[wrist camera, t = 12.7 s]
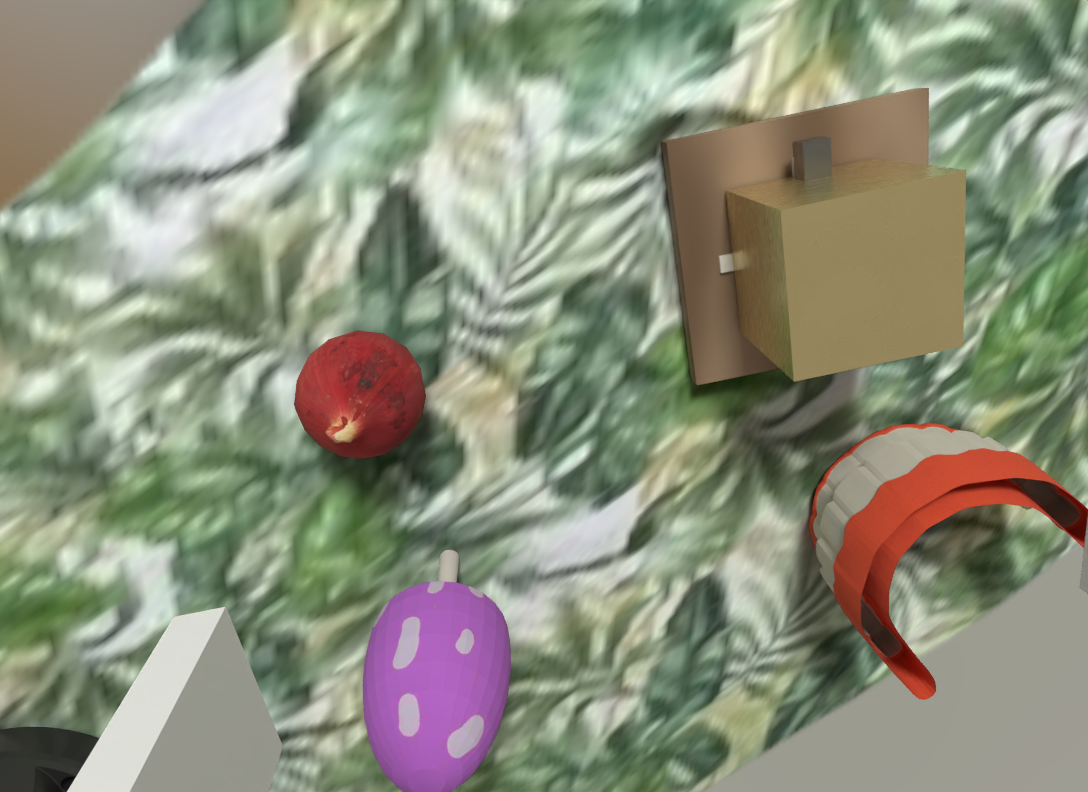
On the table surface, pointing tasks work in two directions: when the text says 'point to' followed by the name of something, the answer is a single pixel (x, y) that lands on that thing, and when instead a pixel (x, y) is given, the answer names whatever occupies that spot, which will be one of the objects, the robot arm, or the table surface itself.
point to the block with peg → (849, 261)
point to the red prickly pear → (360, 394)
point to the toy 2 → (914, 517)
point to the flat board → (750, 158)
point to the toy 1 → (436, 682)
